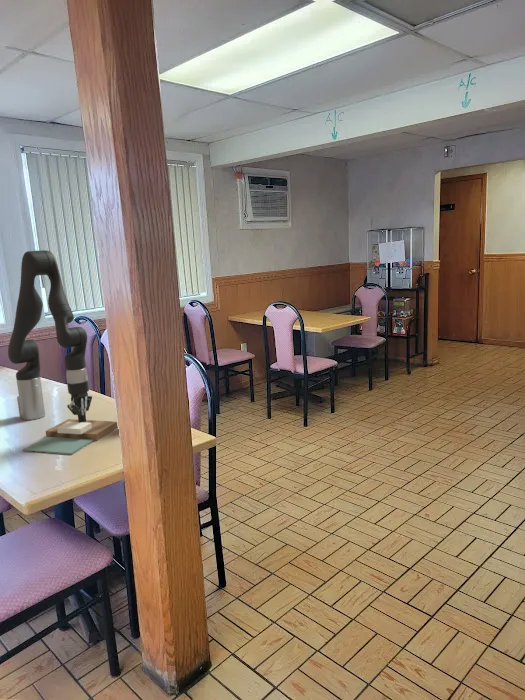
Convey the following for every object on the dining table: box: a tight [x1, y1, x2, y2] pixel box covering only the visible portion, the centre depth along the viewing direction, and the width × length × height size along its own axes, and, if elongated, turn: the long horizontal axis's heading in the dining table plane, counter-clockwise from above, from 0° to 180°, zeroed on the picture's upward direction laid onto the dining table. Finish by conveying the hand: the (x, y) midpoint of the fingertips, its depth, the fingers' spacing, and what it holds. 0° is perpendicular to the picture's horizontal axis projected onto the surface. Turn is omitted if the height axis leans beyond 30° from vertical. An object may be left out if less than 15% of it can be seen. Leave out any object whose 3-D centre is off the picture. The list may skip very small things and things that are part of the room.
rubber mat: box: [22, 436, 95, 456], centre depth 185 cm, size 20×13×1 cm, turn 74°
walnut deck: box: [45, 418, 119, 442], centre depth 198 cm, size 22×14×2 cm, turn 74°
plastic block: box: [57, 422, 92, 434], centre depth 194 cm, size 10×7×2 cm
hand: (82, 423), depth 198 cm, fingers closed
